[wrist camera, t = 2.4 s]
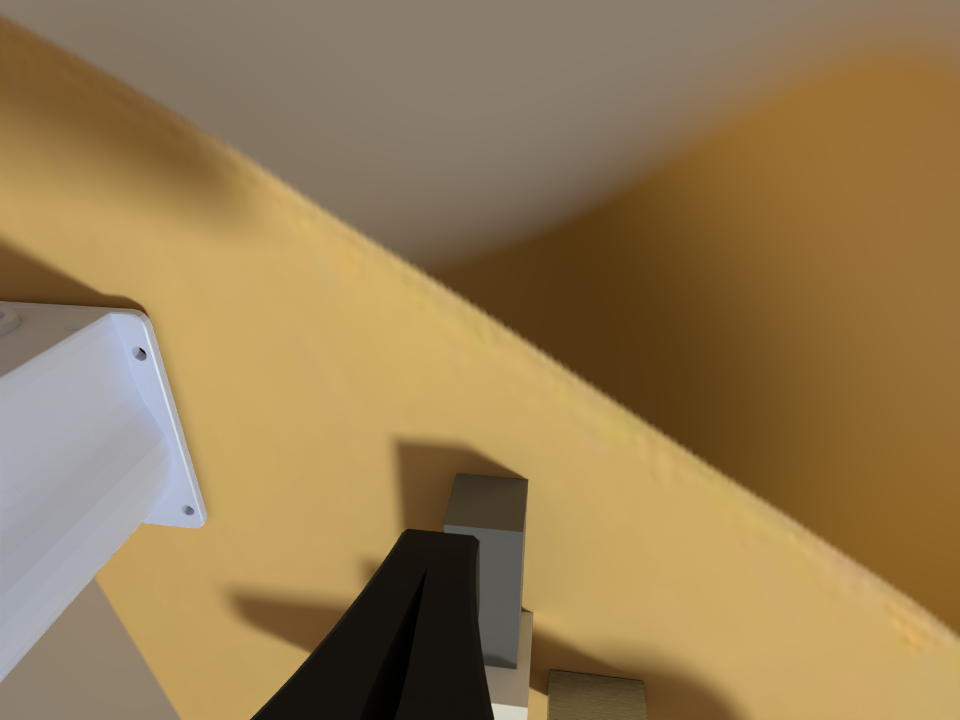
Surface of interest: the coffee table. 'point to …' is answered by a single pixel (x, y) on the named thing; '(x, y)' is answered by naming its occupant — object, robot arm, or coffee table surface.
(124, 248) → the coffee table surface
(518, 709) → the plug
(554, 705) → the gray u-shaped bracket
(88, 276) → the coffee table surface
